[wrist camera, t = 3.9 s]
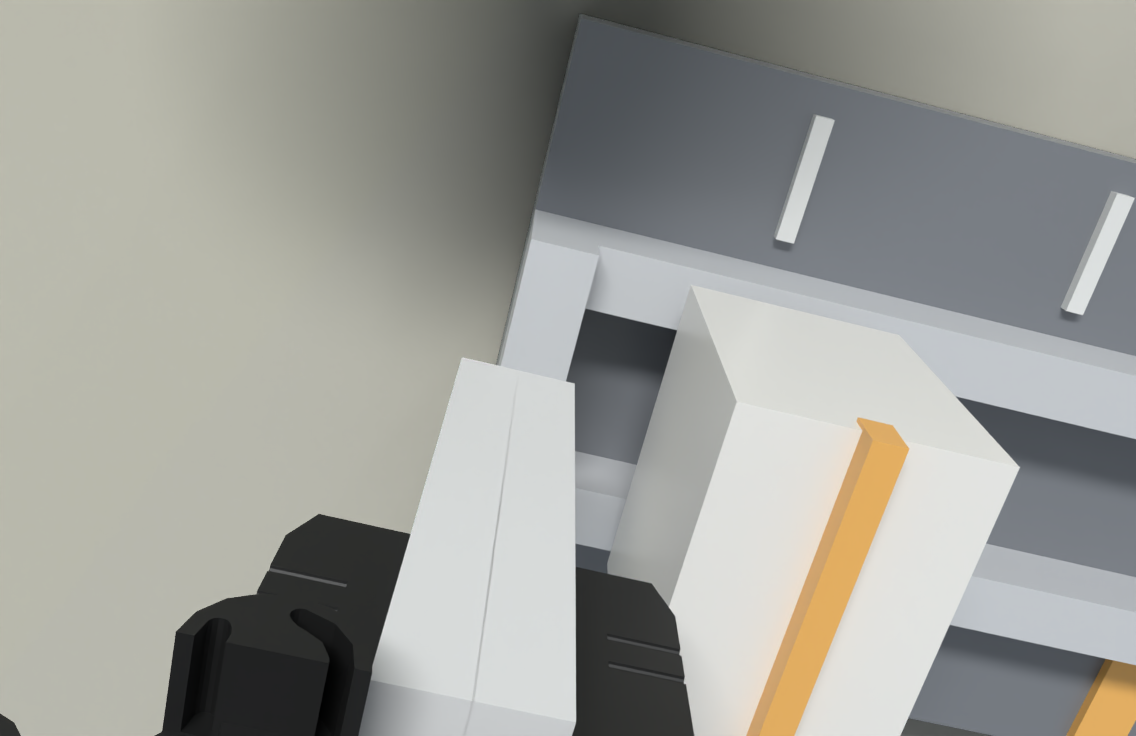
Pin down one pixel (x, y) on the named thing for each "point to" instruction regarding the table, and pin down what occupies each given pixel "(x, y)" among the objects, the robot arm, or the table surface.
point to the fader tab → (805, 518)
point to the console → (864, 322)
